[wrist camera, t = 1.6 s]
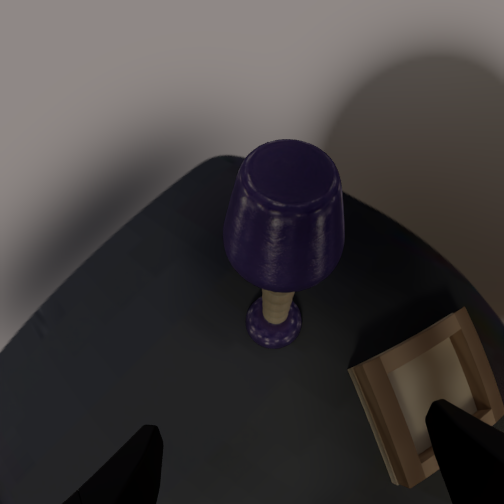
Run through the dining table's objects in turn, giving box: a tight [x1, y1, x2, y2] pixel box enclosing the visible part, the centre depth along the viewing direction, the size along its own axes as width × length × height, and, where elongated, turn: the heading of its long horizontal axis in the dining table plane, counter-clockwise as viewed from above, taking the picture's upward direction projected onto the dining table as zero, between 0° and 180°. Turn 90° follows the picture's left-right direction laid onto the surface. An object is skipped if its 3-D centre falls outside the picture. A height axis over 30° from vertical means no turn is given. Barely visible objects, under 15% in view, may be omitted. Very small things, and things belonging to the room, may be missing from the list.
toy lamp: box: [223, 139, 345, 349], centre depth 16 cm, size 5×5×17 cm
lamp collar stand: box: [348, 307, 504, 488], centre depth 19 cm, size 11×11×3 cm
